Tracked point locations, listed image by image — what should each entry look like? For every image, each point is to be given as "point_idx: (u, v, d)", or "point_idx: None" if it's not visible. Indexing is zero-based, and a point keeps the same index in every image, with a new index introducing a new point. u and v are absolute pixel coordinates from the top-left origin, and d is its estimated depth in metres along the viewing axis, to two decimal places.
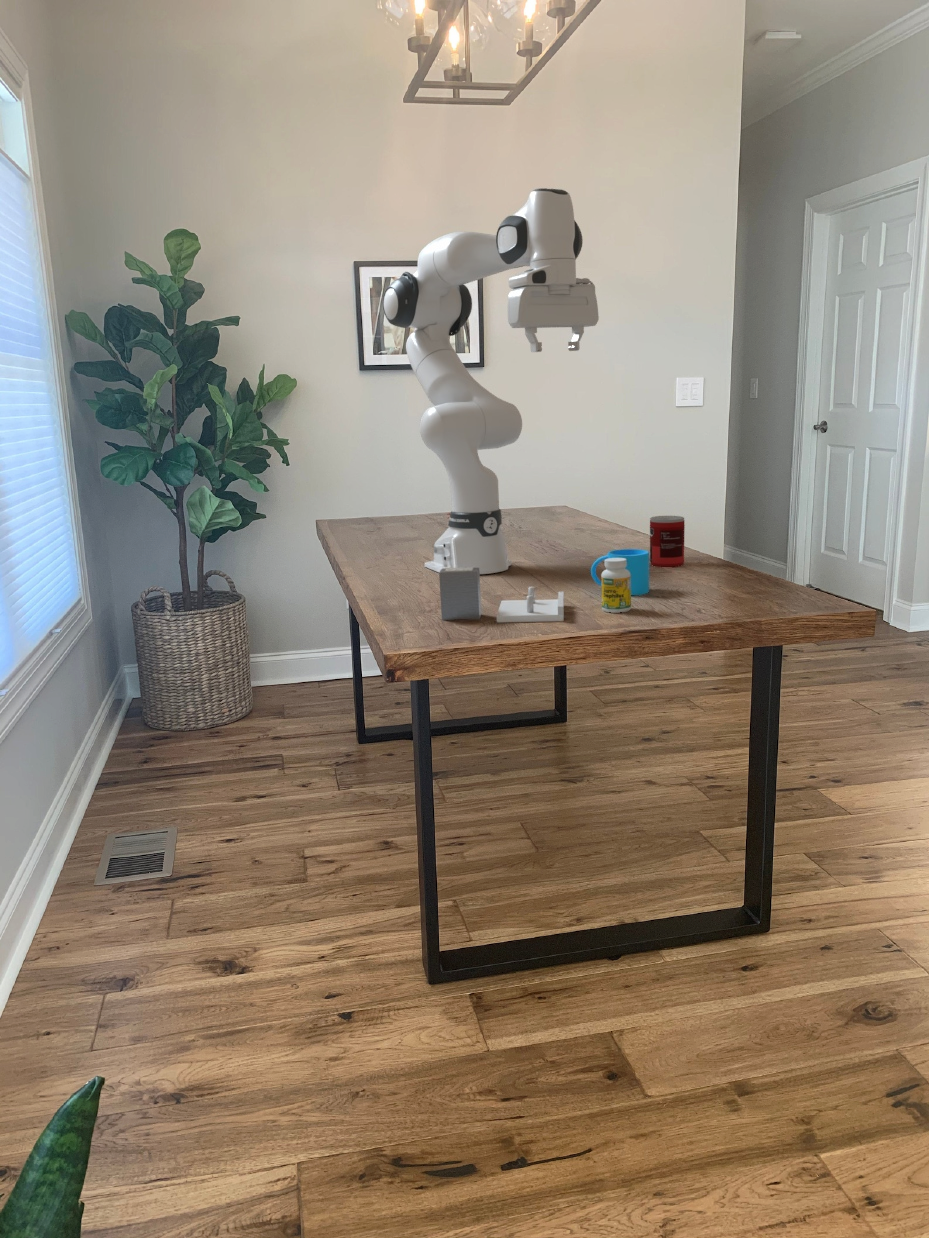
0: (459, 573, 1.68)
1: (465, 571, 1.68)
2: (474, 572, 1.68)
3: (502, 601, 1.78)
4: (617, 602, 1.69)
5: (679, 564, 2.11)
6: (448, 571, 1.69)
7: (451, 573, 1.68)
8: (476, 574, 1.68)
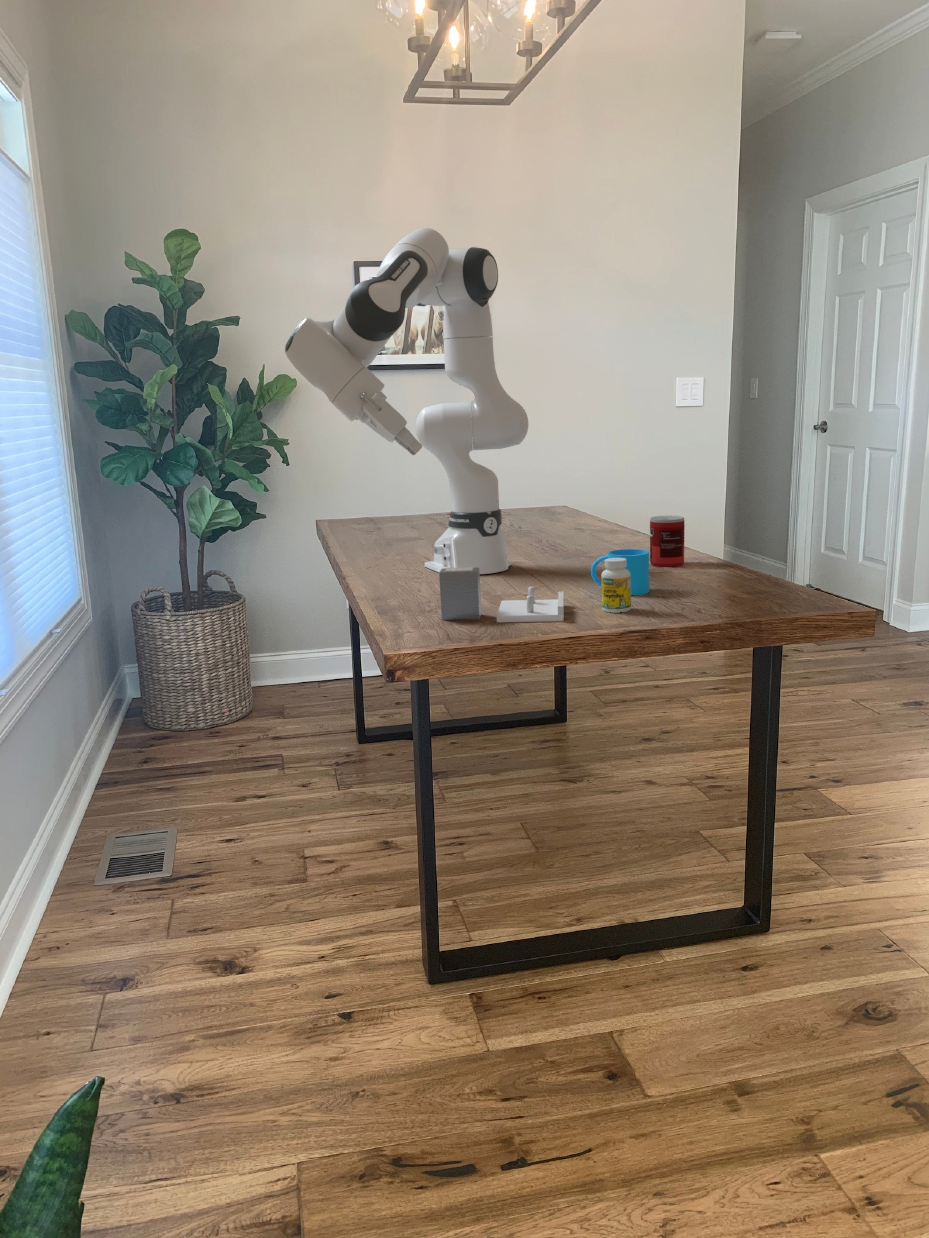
0: (459, 573, 1.68)
1: (465, 571, 1.68)
2: (474, 572, 1.68)
3: (502, 601, 1.78)
4: (617, 602, 1.69)
5: (679, 564, 2.11)
6: (448, 571, 1.69)
7: (451, 573, 1.68)
8: (476, 574, 1.68)
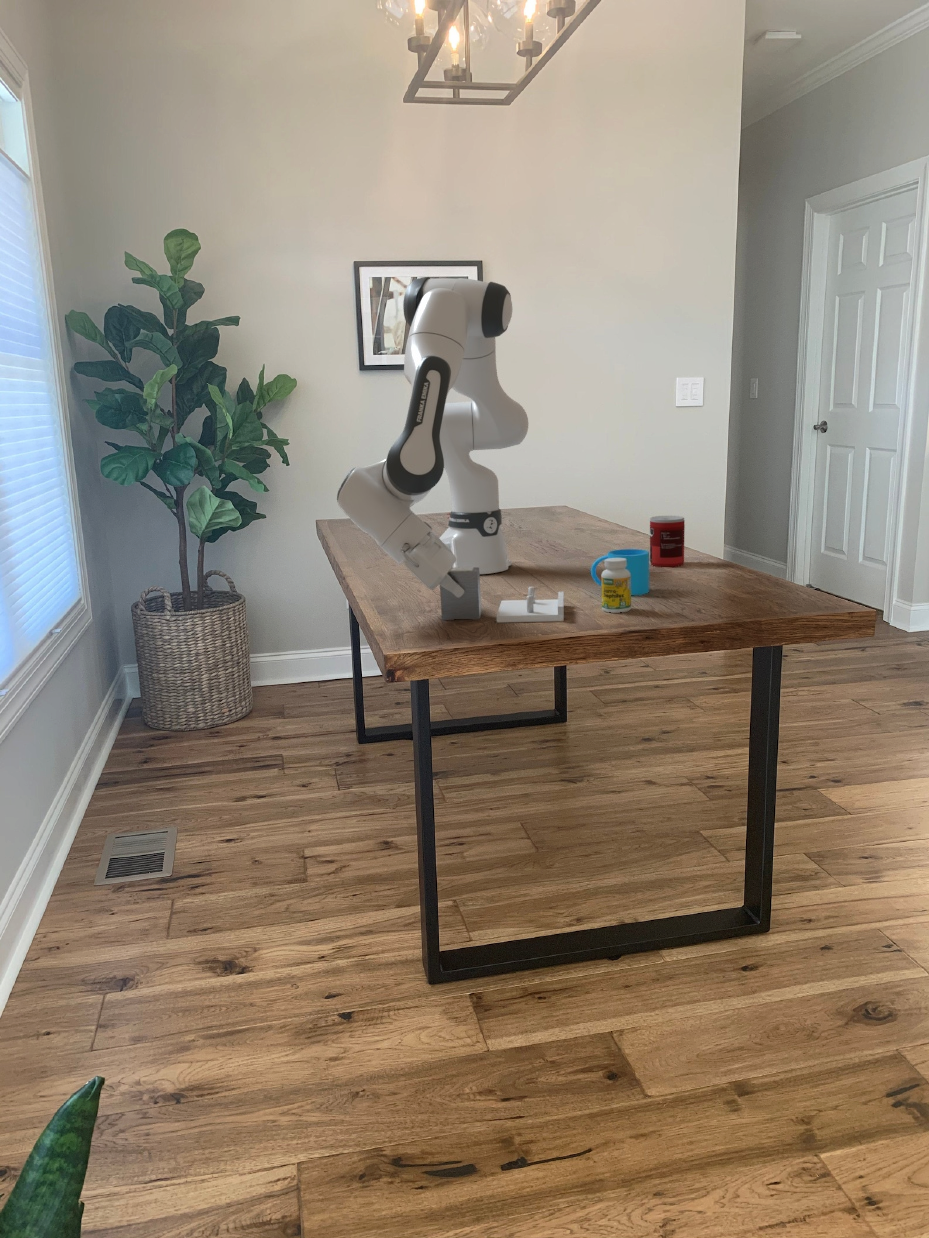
0: (459, 573, 1.68)
1: (465, 571, 1.68)
2: (474, 572, 1.68)
3: (502, 601, 1.78)
4: (617, 602, 1.69)
5: (679, 564, 2.11)
6: None
7: (451, 573, 1.68)
8: (476, 574, 1.68)
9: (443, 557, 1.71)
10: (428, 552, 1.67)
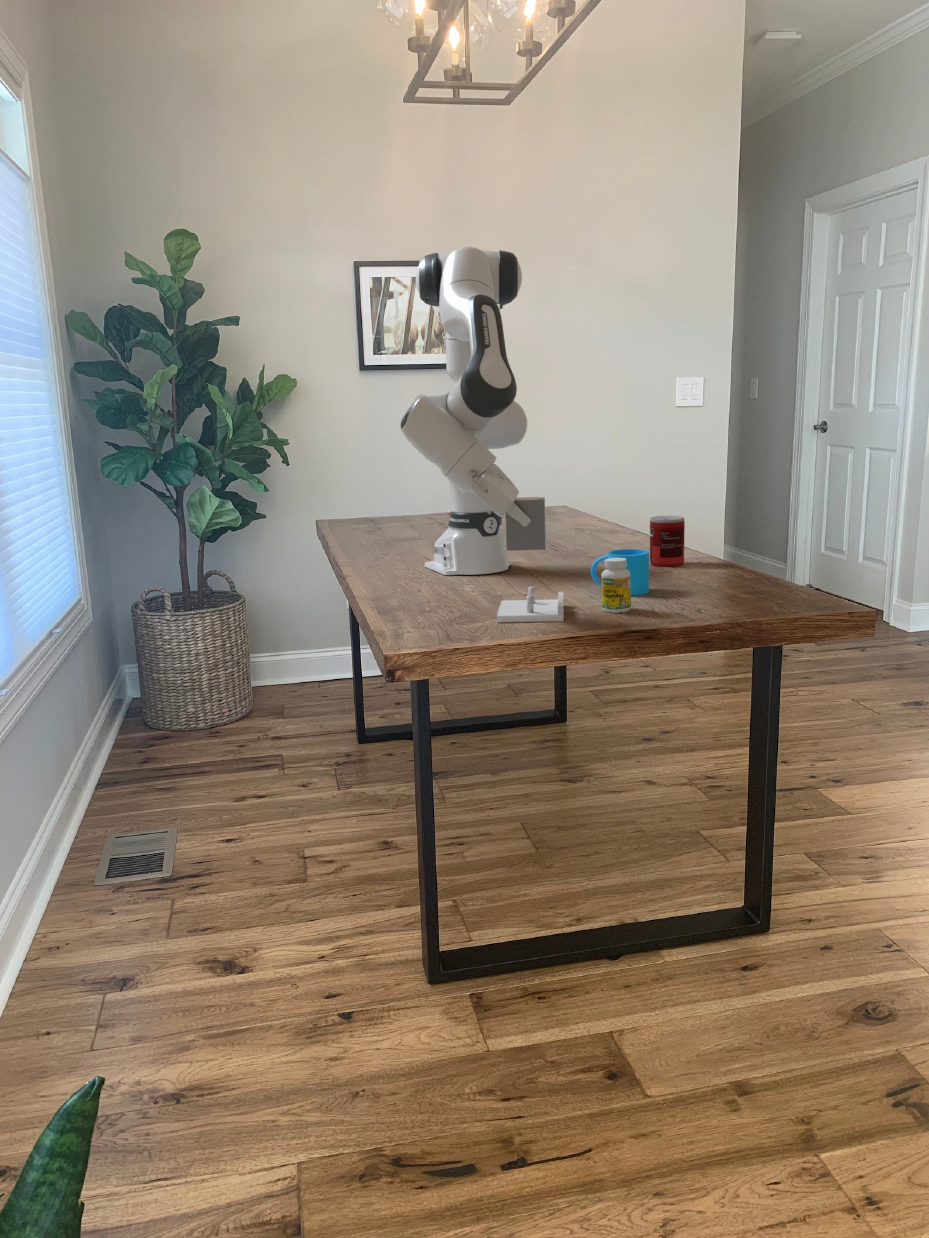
0: (525, 502, 1.66)
1: (531, 500, 1.66)
2: (541, 500, 1.65)
3: (502, 601, 1.78)
4: (617, 602, 1.69)
5: (679, 564, 2.11)
6: None
7: (517, 502, 1.66)
8: (543, 503, 1.65)
9: (508, 487, 1.69)
10: (494, 480, 1.65)
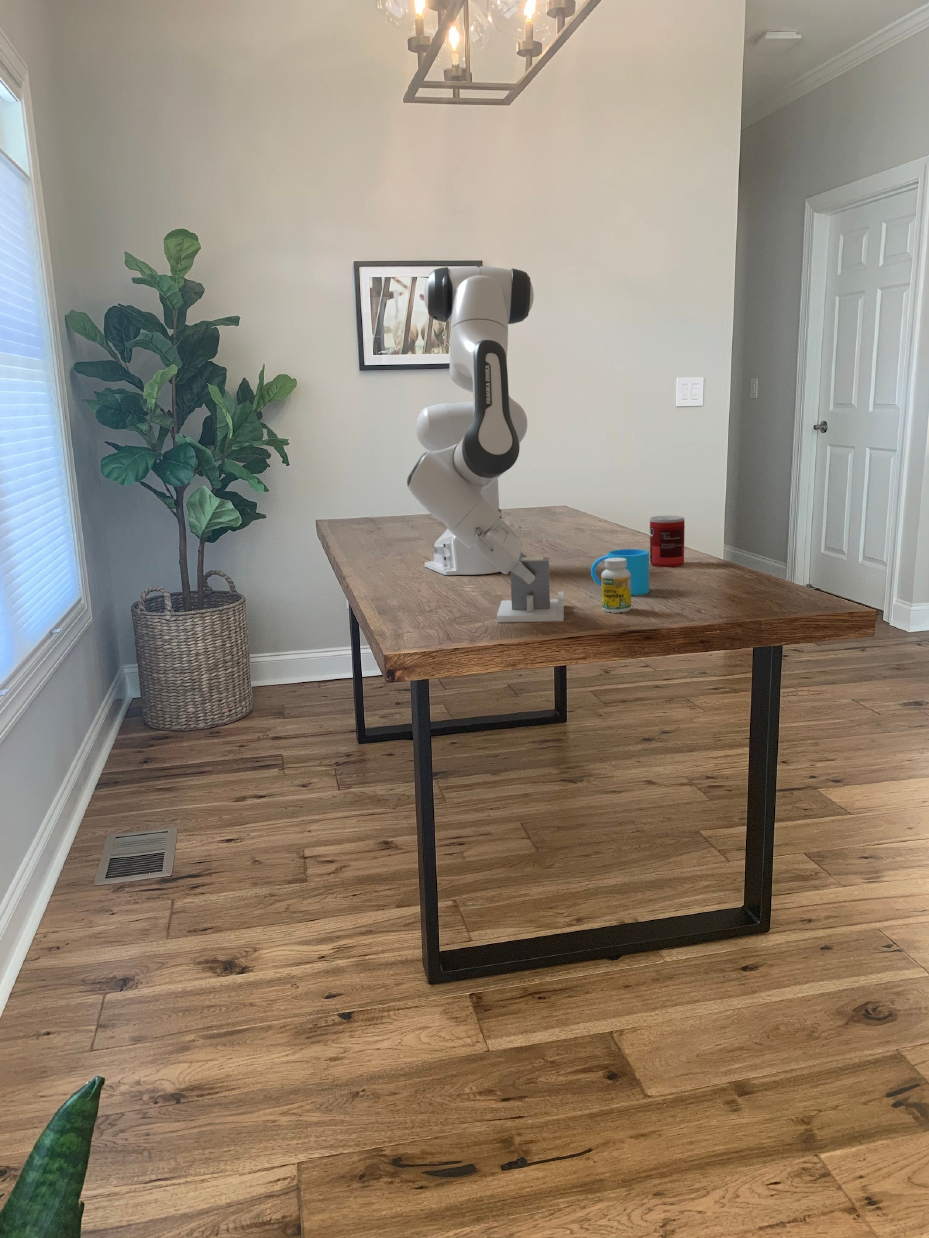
0: (530, 563, 1.68)
1: (536, 561, 1.68)
2: (545, 562, 1.68)
3: (502, 601, 1.78)
4: (617, 602, 1.69)
5: (679, 564, 2.11)
6: None
7: (522, 563, 1.68)
8: (547, 564, 1.68)
9: (513, 542, 1.71)
10: (499, 537, 1.67)
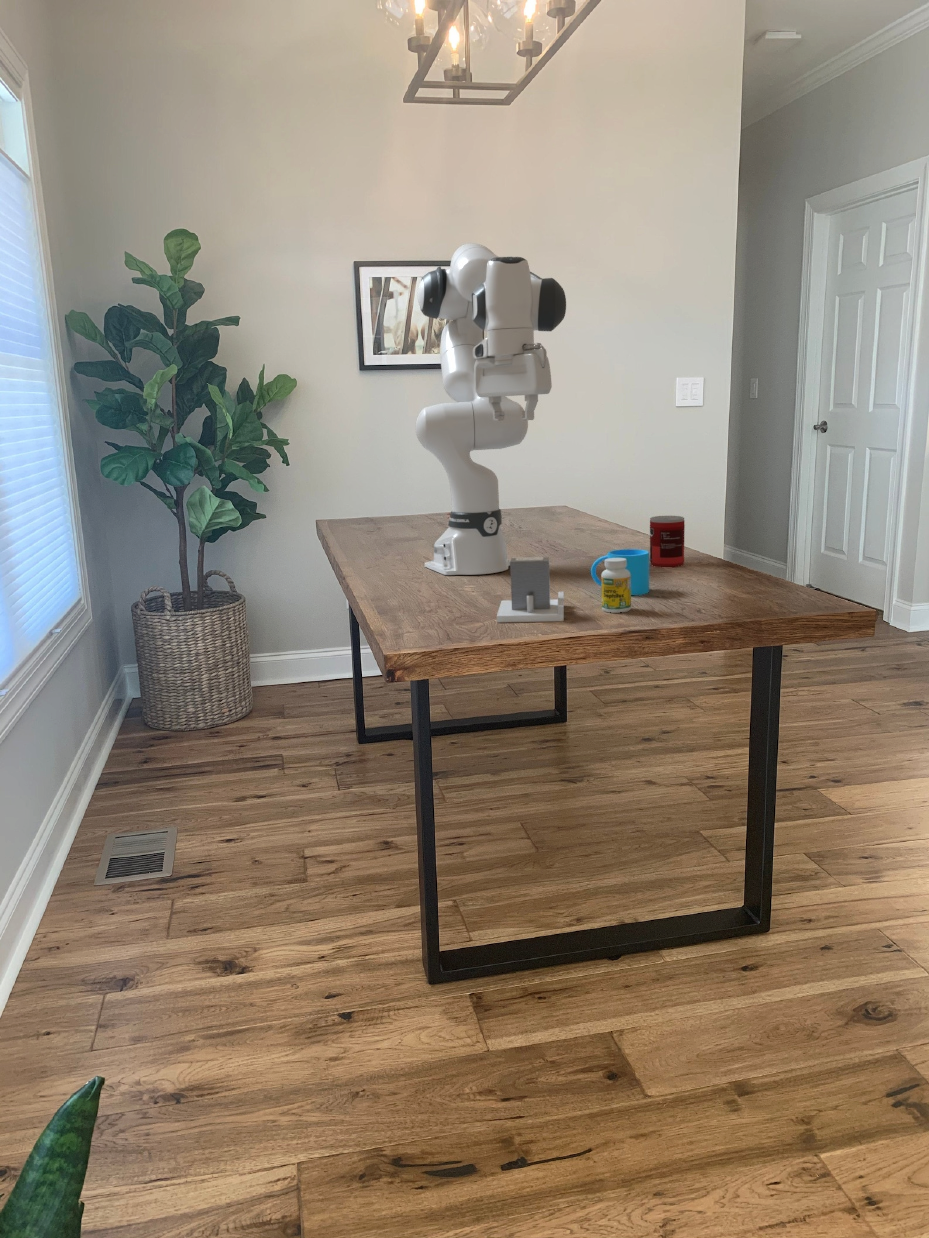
0: (530, 563, 1.68)
1: (536, 561, 1.68)
2: (545, 562, 1.68)
3: (502, 601, 1.78)
4: (617, 602, 1.69)
5: (679, 564, 2.11)
6: (519, 561, 1.69)
7: (522, 563, 1.68)
8: (547, 564, 1.68)
9: None
10: None
